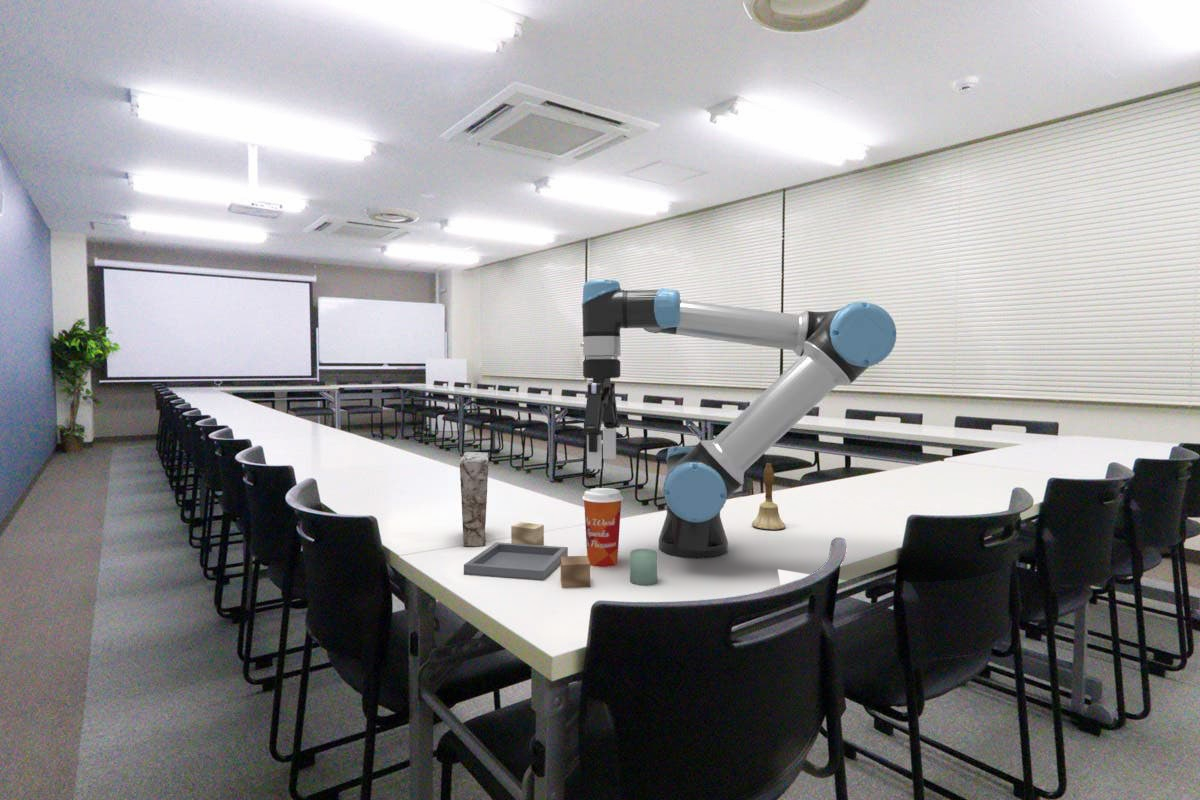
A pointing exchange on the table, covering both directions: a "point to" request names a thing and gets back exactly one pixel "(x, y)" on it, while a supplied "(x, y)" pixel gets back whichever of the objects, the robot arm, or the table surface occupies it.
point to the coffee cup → (602, 525)
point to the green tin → (643, 567)
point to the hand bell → (768, 505)
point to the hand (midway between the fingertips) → (602, 463)
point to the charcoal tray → (516, 561)
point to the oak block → (527, 534)
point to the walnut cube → (575, 571)
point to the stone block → (474, 497)
